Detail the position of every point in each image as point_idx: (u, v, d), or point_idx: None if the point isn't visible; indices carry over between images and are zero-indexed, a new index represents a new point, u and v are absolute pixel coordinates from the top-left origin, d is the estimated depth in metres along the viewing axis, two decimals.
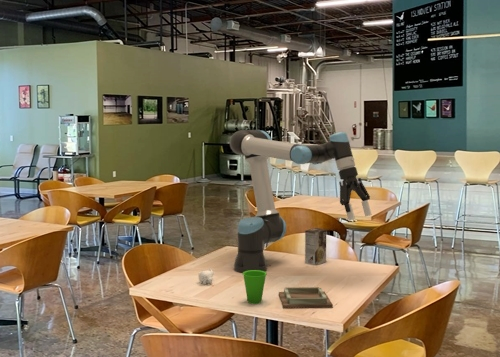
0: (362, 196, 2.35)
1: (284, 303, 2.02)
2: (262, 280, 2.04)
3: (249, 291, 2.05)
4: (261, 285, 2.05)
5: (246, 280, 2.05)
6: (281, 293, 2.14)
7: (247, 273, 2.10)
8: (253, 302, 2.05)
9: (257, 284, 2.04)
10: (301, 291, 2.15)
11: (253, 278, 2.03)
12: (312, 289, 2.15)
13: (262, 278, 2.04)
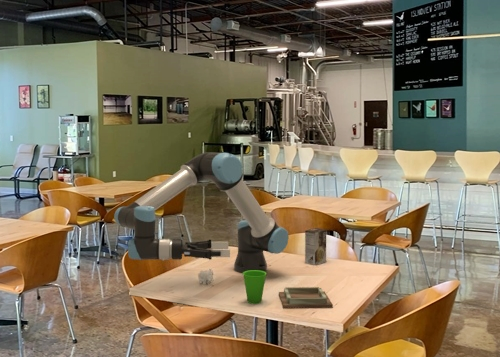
0: None
1: (284, 303, 2.02)
2: (262, 280, 2.04)
3: (249, 291, 2.05)
4: (261, 285, 2.05)
5: (246, 280, 2.05)
6: (281, 293, 2.14)
7: (247, 273, 2.10)
8: (253, 302, 2.05)
9: (257, 284, 2.04)
10: (301, 291, 2.15)
11: (253, 278, 2.03)
12: (312, 289, 2.15)
13: (262, 278, 2.04)
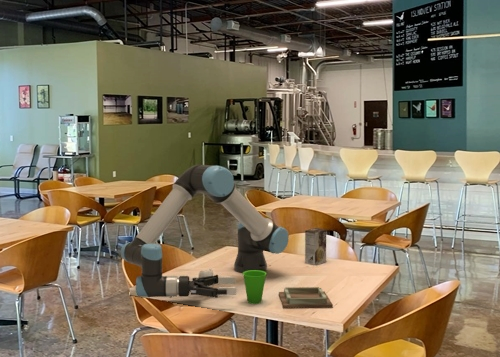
0: None
1: (284, 303, 2.02)
2: (262, 280, 2.04)
3: (249, 291, 2.05)
4: (261, 285, 2.05)
5: (246, 280, 2.05)
6: (281, 293, 2.14)
7: (247, 273, 2.10)
8: (253, 302, 2.05)
9: (257, 284, 2.04)
10: (301, 291, 2.15)
11: (253, 278, 2.03)
12: (312, 289, 2.15)
13: (262, 278, 2.04)
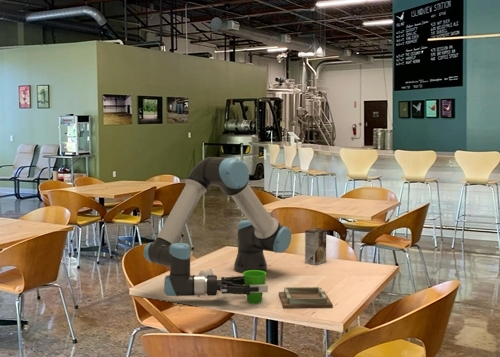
0: None
1: (284, 303, 2.02)
2: (262, 280, 2.04)
3: None
4: None
5: (246, 280, 2.05)
6: (281, 293, 2.14)
7: (247, 273, 2.10)
8: (253, 302, 2.05)
9: (257, 284, 2.04)
10: (301, 291, 2.15)
11: (253, 278, 2.03)
12: (312, 289, 2.15)
13: (262, 278, 2.04)
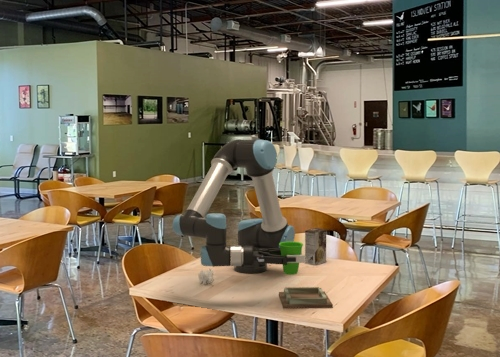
0: None
1: (284, 303, 2.02)
2: (299, 250, 2.03)
3: None
4: None
5: (283, 250, 2.03)
6: (281, 293, 2.14)
7: (283, 244, 2.08)
8: (289, 273, 2.04)
9: None
10: (301, 291, 2.15)
11: (290, 248, 2.01)
12: (312, 289, 2.15)
13: (299, 248, 2.03)
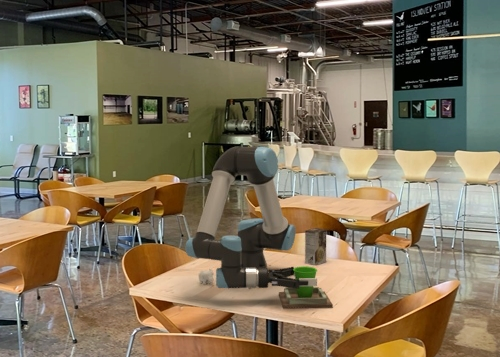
0: None
1: (284, 303, 2.02)
2: (313, 276, 2.05)
3: (300, 287, 2.06)
4: None
5: (297, 276, 2.06)
6: (281, 293, 2.14)
7: (297, 269, 2.11)
8: None
9: None
10: None
11: (305, 274, 2.04)
12: None
13: (313, 274, 2.05)
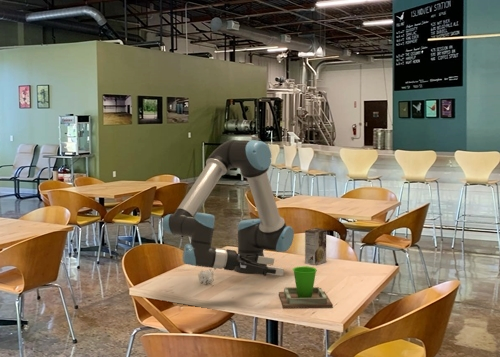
0: None
1: (284, 303, 2.02)
2: (313, 276, 2.05)
3: (299, 287, 2.06)
4: (312, 281, 2.06)
5: (297, 276, 2.06)
6: (281, 293, 2.14)
7: (297, 269, 2.11)
8: None
9: (308, 280, 2.05)
10: None
11: (304, 274, 2.04)
12: None
13: (313, 274, 2.05)
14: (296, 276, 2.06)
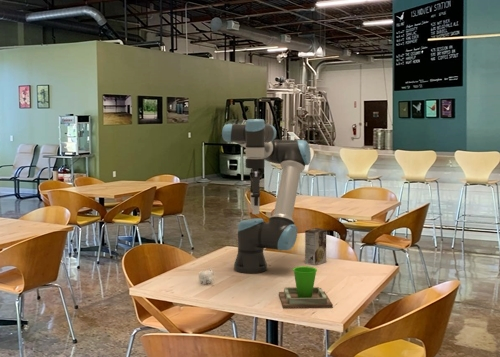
0: None
1: (284, 303, 2.02)
2: (313, 276, 2.05)
3: (300, 287, 2.06)
4: (312, 281, 2.06)
5: (297, 276, 2.06)
6: (281, 293, 2.14)
7: (297, 269, 2.11)
8: None
9: (308, 280, 2.05)
10: None
11: (304, 274, 2.04)
12: None
13: (313, 274, 2.05)
14: (296, 276, 2.06)
